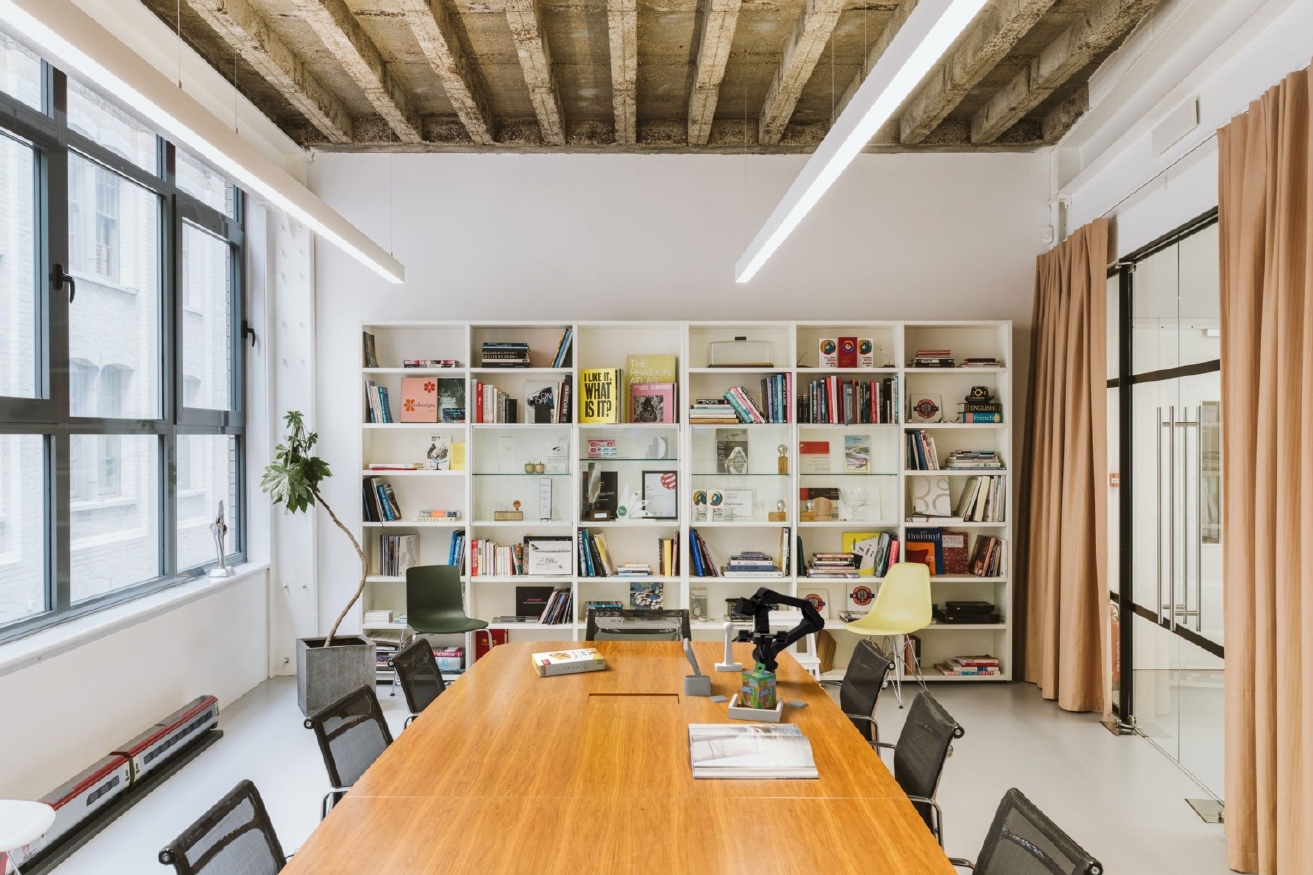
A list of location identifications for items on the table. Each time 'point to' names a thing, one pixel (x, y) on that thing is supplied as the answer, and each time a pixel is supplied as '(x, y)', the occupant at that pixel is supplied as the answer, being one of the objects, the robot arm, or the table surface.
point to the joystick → (728, 652)
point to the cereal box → (568, 661)
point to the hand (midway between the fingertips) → (763, 657)
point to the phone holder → (696, 682)
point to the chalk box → (758, 688)
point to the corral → (754, 712)
